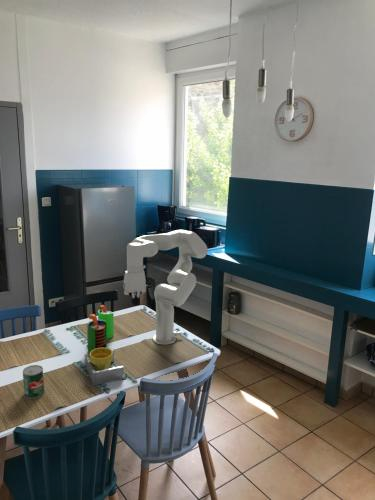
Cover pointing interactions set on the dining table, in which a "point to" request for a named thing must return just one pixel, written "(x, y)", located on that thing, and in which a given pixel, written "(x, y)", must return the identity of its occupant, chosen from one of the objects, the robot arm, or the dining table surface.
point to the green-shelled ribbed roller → (109, 318)
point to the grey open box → (103, 372)
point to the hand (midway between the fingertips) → (135, 304)
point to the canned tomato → (33, 381)
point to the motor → (96, 333)
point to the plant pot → (101, 358)
